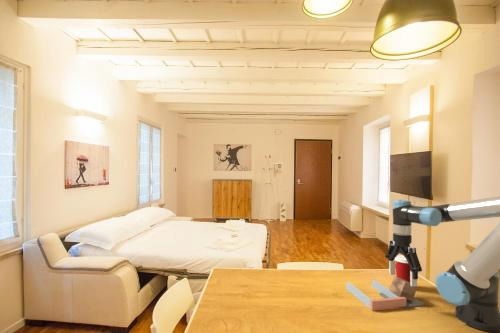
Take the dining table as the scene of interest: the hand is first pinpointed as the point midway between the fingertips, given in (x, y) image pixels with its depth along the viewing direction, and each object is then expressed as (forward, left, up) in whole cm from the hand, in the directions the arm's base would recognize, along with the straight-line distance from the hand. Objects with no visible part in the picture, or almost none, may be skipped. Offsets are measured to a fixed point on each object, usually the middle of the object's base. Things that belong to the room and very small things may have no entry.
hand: (402, 280), depth 127 cm
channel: (+5, +11, -9) cm, 16 cm away
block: (+1, +1, -7) cm, 7 cm away
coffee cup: (+12, -11, -10) cm, 19 cm away
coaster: (0, 0, -9) cm, 9 cm away
